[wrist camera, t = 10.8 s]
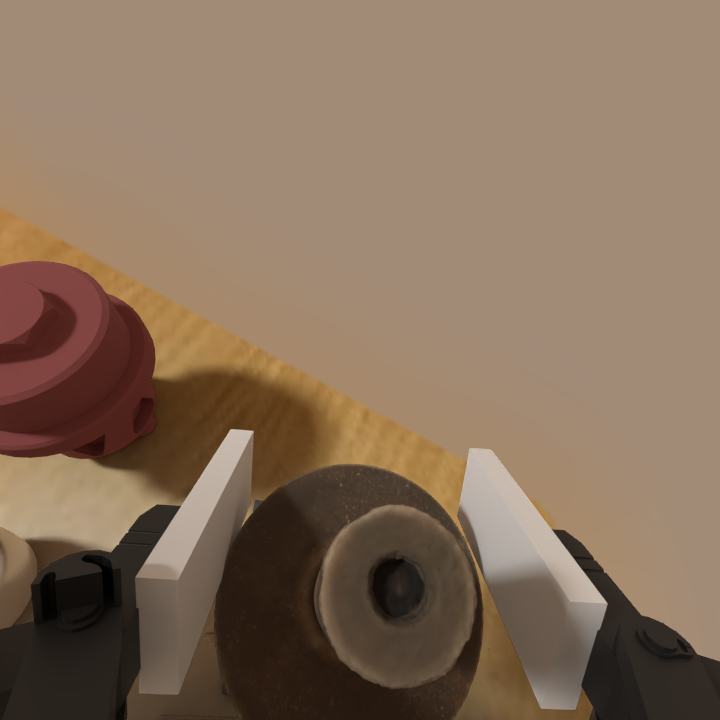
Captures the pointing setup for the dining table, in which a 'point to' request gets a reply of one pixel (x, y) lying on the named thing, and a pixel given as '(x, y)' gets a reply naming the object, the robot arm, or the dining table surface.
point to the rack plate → (193, 718)
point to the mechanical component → (70, 365)
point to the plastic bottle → (15, 576)
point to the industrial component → (348, 603)
